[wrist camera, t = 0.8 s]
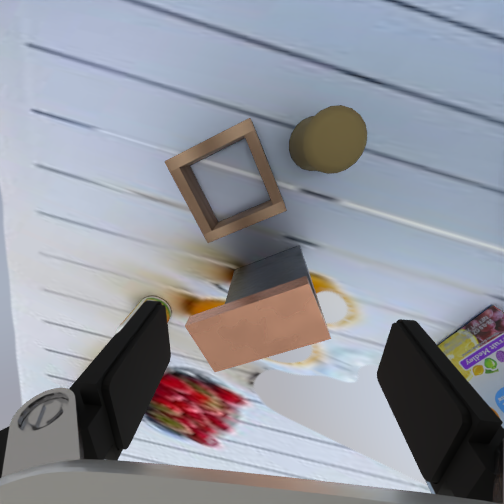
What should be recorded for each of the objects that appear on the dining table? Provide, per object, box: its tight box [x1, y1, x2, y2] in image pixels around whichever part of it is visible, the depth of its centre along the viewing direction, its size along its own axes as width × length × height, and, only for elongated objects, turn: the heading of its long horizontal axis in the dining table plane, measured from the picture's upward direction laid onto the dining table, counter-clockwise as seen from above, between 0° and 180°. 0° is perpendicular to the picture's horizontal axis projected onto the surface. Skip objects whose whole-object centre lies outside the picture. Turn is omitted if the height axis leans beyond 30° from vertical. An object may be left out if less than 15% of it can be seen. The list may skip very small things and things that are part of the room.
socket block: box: [165, 118, 287, 243], centre depth 30 cm, size 10×10×4 cm
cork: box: [289, 105, 367, 174], centre depth 24 cm, size 6×6×11 cm
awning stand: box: [185, 246, 331, 372], centre depth 27 cm, size 10×5×17 cm, turn 114°
